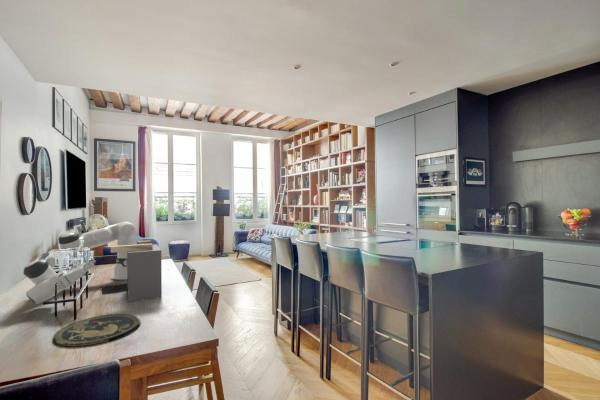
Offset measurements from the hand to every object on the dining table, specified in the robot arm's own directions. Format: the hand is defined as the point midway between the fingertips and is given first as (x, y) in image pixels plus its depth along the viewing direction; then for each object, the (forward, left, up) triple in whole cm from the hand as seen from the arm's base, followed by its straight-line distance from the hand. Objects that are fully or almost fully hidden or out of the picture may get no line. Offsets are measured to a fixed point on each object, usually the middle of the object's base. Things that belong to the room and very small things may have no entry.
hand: (94, 262), depth 162 cm
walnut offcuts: (-7, +23, +5) cm, 25 cm away
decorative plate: (+42, +4, -22) cm, 47 cm away
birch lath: (0, +17, +5) cm, 18 cm away
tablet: (-27, +15, -22) cm, 38 cm away
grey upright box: (-7, +23, -21) cm, 33 cm away
